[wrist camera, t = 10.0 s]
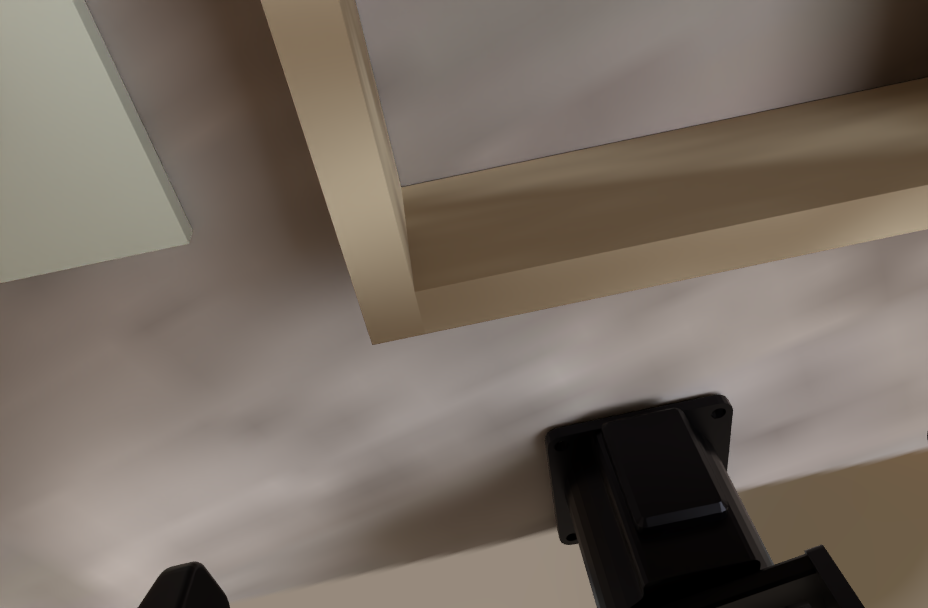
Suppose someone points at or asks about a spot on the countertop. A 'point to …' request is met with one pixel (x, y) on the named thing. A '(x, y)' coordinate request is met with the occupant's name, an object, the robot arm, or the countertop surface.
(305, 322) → the countertop surface
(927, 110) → the cold frame
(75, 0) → the sage tile
